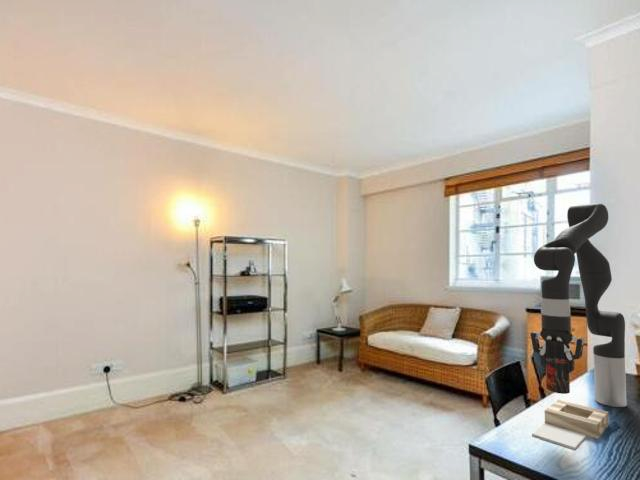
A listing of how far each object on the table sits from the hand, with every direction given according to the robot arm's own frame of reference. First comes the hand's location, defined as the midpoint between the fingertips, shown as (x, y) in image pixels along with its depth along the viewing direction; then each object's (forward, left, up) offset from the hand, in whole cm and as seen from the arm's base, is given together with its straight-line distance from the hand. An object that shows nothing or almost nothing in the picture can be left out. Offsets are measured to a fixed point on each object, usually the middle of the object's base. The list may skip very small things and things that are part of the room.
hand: (557, 369), depth 113 cm
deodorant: (0, 0, -6) cm, 6 cm away
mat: (0, 0, -20) cm, 20 cm away
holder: (-14, +1, -20) cm, 24 cm away
